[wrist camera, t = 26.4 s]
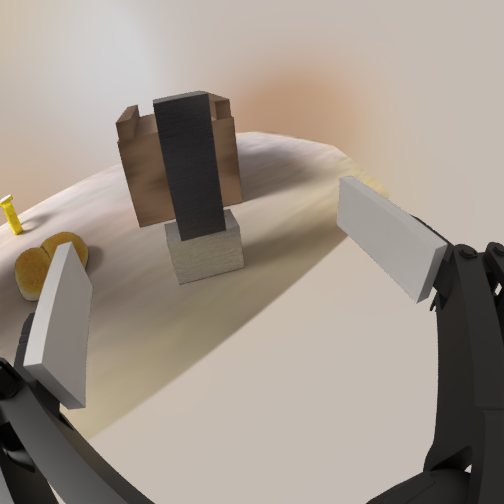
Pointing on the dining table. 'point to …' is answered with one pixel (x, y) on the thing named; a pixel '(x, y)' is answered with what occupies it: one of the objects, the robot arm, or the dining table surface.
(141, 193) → the slot board
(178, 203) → the dark gray upright block
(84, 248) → the bread roll
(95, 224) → the dining table surface
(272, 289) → the dining table surface
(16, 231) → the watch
